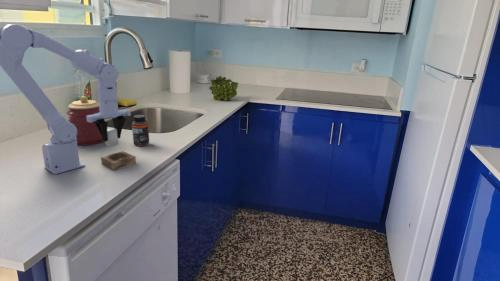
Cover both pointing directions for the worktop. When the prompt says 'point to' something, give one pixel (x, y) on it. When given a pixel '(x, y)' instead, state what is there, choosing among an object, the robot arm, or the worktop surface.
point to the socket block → (118, 160)
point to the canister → (84, 121)
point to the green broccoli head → (223, 88)
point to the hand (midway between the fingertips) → (111, 139)
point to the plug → (112, 137)
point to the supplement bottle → (140, 131)
